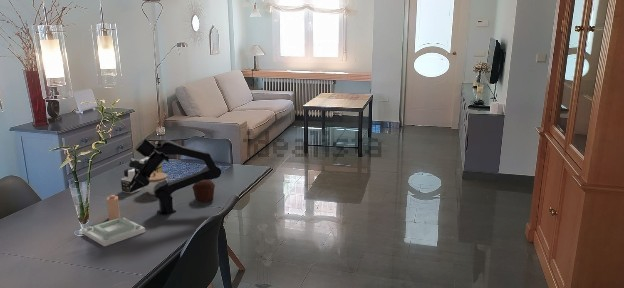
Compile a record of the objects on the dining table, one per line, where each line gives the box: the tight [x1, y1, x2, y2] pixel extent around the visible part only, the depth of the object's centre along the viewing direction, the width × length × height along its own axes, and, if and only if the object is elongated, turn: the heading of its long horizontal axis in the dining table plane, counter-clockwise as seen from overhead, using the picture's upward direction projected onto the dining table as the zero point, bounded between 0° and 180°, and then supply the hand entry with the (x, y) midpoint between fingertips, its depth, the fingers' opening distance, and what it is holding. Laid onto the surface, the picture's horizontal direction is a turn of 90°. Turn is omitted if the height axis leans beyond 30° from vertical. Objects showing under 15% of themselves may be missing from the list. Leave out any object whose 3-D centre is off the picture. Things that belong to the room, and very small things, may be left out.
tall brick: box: [106, 194, 121, 221], centre depth 214 cm, size 4×4×11 cm
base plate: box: [82, 216, 146, 247], centre depth 199 cm, size 18×18×4 cm
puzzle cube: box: [139, 156, 163, 173], centre depth 276 cm, size 10×10×10 cm
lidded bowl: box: [143, 172, 168, 196], centre depth 248 cm, size 13×13×11 cm
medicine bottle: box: [120, 167, 142, 194], centre depth 250 cm, size 7×7×12 cm
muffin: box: [192, 179, 216, 203], centre depth 240 cm, size 12×11×10 cm
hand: (129, 188), depth 215 cm, fingers open, 9 cm apart
